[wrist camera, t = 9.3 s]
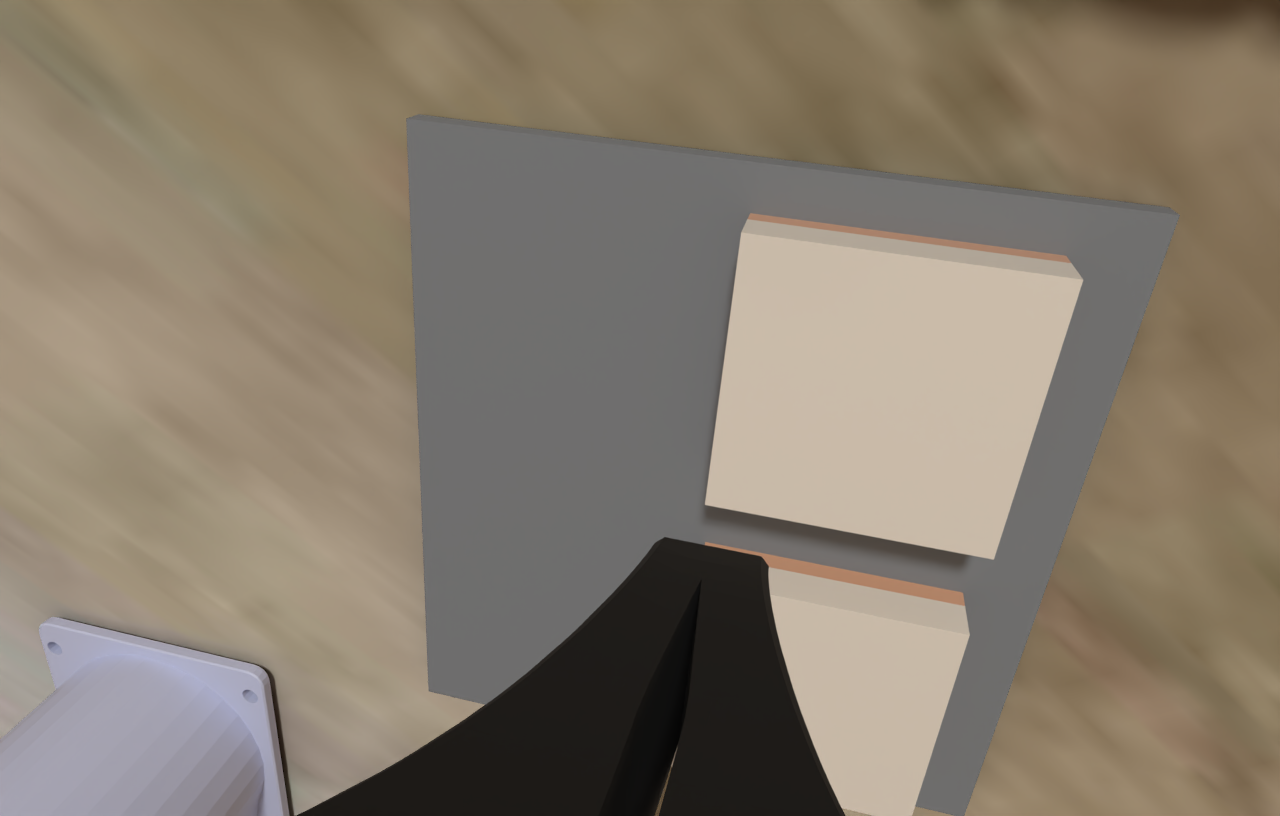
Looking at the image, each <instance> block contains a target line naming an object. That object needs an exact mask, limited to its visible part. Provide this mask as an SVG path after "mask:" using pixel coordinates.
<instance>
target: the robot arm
mask: <svg viewBox="0 0 1280 816" xmlns="http://www.w3.org/2000/svg"><path fill="white" fill-rule="evenodd" d="M768 573H769V566H768V564H767V563H766V562H765V560H764V559H763V558H762V556H757V555H752V554H747V553H742V552H737V551H732V550H727V549H722V548H718V547H713V546H708V545H703V544H698V543H693V542H688V541H683V540H678V539H673V538H668V537H664V538H662V539H660V540H659V541H657V542H655V543H654V545H653V546H652V547H651V549H650V550H649V552H648V553H647V554H646V555H645V557H644V558H643V559H642V560H641V562H640V563H639V564H638V565H637V566H636V568H635V569H634V570H633V571H632V572H631V573H630V575H629V576H628V577H627V578H626V579H625V580H624V581H623V582H622V583H621V584H620V586H619V587H618V588H617V589H616V590H615V591H614V592H613V593H612V594H611V595H610V596H609V597H608V598H607V599H606V600H605V601H604V602H603V603H602V604H601V605H600V606H599V607H598V608H597V609H596V610H595V611H594V612H593V613H592V614H591V615H590V616H589V617H588V618H587V619H586V620H585V621H584V622H583V623H582V624H581V625H580V626H579V627H578V628H577V629H576V630H575V631H574V632H573V633H572V634H571V635H570V636H569V637H568V638H566V639H565V640H564V641H563V642H562V643H561V644H560V645H558V646H557V647H556V648H555V649H554V650H553V651H552V652H550V653H549V654H548V655H547V656H546V657H545V658H543V659H542V660H541V661H540V662H539V663H538V664H537V665H535V666H534V667H533V668H532V669H531V670H530V671H528V672H527V673H526V674H525V675H524V676H522V677H521V678H520V679H519V680H517V681H516V682H515V683H513V684H512V685H511V686H510V687H508V688H507V689H506V690H505V691H503V692H502V693H501V694H499V695H498V696H497V697H495V698H494V699H493V700H491V701H490V702H488V703H487V704H486V705H484V706H483V707H481V708H480V709H479V710H477V711H476V712H475V713H473V714H472V715H470V716H469V717H468V718H466V719H465V720H463V721H462V722H460V723H459V724H457V725H456V726H454V727H453V728H451V729H449V730H448V731H446V732H445V733H443V734H442V735H440V736H439V737H437V738H435V739H434V740H432V741H431V742H429V743H428V744H426V745H425V746H423V747H421V748H420V749H418V750H417V751H415V752H414V753H412V754H410V755H409V756H407V757H405V758H404V759H402V760H400V761H399V762H397V763H395V764H393V765H392V766H390V767H388V768H386V769H385V770H383V771H381V772H380V773H378V774H376V775H374V776H372V777H370V778H368V779H366V780H364V781H362V782H360V783H359V784H357V785H355V786H353V787H351V788H349V789H347V790H345V791H343V792H341V793H339V794H338V795H336V796H334V797H332V798H330V799H328V800H326V801H324V802H322V803H320V804H318V805H317V806H315V807H313V808H311V809H309V810H307V811H305V812H303V813H301V814H299V815H297V816H654V815H655V812H656V809H657V806H658V803H659V800H660V797H661V794H662V791H663V788H664V785H665V782H666V779H667V776H668V773H669V770H670V767H671V764H672V761H673V758H674V755H675V758H674V762H673V766H672V770H671V773H670V777H669V781H668V785H667V788H666V792H665V796H664V799H663V803H662V806H661V810H660V814H659V816H845V814H844V812H843V810H842V808H841V806H840V804H839V801H838V799H837V797H836V795H835V793H834V791H833V789H832V787H831V785H830V782H829V780H828V778H827V776H826V773H825V771H824V769H823V766H822V764H821V762H820V759H819V757H818V754H817V752H816V750H815V747H814V745H813V742H812V739H811V737H810V734H809V731H808V729H807V726H806V724H805V721H804V718H803V716H802V713H801V710H800V707H799V704H798V701H797V698H796V695H795V693H794V690H793V687H792V683H791V680H790V676H789V673H788V670H787V666H786V663H785V659H784V656H783V653H782V649H781V645H780V641H779V637H778V633H777V629H776V624H775V619H774V614H773V610H772V604H771V597H770V589H769V575H768ZM39 634H40V637H41V641H42V644H43V648H44V651H45V654H46V658H47V661H48V665H49V668H50V671H51V675H52V678H53V682H54V685H55V688H56V690H55V691H54V692H53V693H52V694H51V695H50V696H48V697H47V698H46V699H45V700H44V701H43V702H42V703H41V704H39V705H38V706H37V707H36V708H35V709H34V710H33V711H32V712H30V713H29V714H28V715H27V716H26V717H25V718H24V719H23V720H21V721H20V722H19V723H18V724H17V725H16V726H15V727H14V728H12V729H11V730H10V731H9V732H8V733H7V734H6V735H4V736H3V737H2V738H1V739H0V816H289V809H288V802H287V796H286V789H285V782H284V775H283V768H282V762H281V755H280V748H279V741H278V734H277V728H276V721H275V714H274V707H273V700H272V694H271V687H270V680H269V677H268V674H267V673H266V672H265V670H263V669H262V668H261V667H259V666H257V665H254V664H250V663H246V662H242V661H238V660H234V659H229V658H225V657H221V656H217V655H213V654H209V653H204V652H200V651H196V650H192V649H188V648H183V647H179V646H175V645H171V644H167V643H163V642H158V641H154V640H150V639H146V638H142V637H138V636H133V635H129V634H125V633H121V632H117V631H112V630H108V629H104V628H100V627H96V626H92V625H87V624H83V623H79V622H75V621H71V620H66V619H62V618H58V617H51V618H48V619H47V620H46V621H45V622H43V623H42V624H41V625H40V627H39ZM677 746H678V747H677ZM676 749H677V751H676ZM675 752H676V754H675Z"/></svg>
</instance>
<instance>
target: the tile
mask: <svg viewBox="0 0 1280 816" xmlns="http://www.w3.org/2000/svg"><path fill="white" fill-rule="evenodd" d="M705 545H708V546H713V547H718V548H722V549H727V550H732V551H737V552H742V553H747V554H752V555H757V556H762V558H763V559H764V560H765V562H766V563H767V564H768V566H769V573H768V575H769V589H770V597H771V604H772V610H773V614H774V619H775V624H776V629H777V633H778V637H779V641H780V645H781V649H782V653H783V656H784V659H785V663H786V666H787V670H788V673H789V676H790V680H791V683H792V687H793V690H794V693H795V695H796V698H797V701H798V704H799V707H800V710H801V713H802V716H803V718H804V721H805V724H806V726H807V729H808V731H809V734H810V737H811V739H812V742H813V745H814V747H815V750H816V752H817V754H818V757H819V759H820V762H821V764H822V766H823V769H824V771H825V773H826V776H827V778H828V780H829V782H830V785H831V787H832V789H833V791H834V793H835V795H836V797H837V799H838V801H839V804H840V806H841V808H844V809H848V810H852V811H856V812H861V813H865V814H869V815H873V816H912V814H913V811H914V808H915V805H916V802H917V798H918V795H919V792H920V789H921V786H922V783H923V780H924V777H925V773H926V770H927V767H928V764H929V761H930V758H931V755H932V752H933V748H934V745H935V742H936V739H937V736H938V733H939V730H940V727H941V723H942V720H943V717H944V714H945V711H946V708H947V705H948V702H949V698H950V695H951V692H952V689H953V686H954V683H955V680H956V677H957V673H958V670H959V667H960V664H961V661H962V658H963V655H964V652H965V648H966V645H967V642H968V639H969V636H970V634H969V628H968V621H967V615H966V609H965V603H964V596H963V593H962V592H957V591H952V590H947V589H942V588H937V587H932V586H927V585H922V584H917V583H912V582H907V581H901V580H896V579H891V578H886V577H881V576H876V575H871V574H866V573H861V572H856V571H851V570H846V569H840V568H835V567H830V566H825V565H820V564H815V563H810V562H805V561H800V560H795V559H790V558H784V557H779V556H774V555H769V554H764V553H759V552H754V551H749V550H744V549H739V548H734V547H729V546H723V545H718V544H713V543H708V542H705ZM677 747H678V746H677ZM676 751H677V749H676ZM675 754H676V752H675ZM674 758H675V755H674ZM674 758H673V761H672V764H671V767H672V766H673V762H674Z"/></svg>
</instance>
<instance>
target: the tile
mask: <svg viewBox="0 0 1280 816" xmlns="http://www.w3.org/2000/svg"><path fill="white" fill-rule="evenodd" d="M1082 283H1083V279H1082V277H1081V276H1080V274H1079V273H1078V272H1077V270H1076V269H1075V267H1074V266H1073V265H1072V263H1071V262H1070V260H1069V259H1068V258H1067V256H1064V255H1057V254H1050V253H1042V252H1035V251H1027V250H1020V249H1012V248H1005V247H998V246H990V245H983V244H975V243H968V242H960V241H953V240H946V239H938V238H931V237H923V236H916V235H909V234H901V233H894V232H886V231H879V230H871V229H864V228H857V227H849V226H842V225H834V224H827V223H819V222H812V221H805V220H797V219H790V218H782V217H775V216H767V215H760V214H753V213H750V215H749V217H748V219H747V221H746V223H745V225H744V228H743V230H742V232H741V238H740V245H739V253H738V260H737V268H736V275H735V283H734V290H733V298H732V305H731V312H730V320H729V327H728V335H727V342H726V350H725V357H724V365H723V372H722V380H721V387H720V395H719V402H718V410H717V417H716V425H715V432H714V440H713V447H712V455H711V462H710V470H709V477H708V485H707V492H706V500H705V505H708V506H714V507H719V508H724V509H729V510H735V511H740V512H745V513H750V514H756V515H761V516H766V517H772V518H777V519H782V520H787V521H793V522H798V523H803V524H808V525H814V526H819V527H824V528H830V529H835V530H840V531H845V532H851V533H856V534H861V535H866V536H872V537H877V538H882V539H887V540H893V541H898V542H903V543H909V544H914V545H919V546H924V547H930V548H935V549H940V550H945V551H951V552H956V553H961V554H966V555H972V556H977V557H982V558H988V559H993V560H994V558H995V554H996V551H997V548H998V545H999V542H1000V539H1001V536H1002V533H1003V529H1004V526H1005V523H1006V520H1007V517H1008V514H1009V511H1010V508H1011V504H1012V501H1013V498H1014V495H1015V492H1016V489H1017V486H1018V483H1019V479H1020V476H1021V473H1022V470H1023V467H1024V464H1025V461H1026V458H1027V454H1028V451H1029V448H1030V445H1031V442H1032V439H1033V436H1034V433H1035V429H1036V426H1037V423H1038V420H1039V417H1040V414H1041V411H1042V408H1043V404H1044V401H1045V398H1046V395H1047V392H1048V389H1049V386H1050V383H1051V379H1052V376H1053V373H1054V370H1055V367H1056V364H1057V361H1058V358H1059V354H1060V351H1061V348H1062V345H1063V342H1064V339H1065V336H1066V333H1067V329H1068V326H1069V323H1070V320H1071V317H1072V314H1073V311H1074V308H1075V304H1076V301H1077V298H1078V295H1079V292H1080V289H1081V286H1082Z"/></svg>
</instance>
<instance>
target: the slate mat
mask: <svg viewBox="0 0 1280 816" xmlns="http://www.w3.org/2000/svg"><path fill="white" fill-rule="evenodd" d="M406 121H407V147H408V173H409V198H410V224H411V250H412V275H413V301H414V327H415V352H416V378H417V403H418V429H419V455H420V480H421V506H422V532H423V557H424V583H425V609H426V634H427V660H428V686H429V691H430V692H434V693H439V694H443V695H447V696H451V697H456V698H460V699H464V700H468V701H473V702H477V703H481V704H485V705H486V704H487V703H488V702H490V701H491V700H493V699H494V698H495V697H497V696H498V695H499V694H501V693H502V692H503V691H505V690H506V689H507V688H508V687H510V686H511V685H512V684H513V683H515V682H516V681H517V680H519V679H520V678H521V677H522V676H524V675H525V674H526V673H527V672H528V671H530V670H531V669H532V668H533V667H534V666H535V665H537V664H538V663H539V662H540V661H541V660H542V659H543V658H545V657H546V656H547V655H548V654H549V653H550V652H552V651H553V650H554V649H555V648H556V647H557V646H558V645H560V644H561V643H562V642H563V641H564V640H565V639H566V638H568V637H569V636H570V635H571V634H572V633H573V632H574V631H575V630H576V629H577V628H578V627H579V626H580V625H581V624H582V623H583V622H584V621H585V620H586V619H587V618H588V617H589V616H590V615H591V614H592V613H593V612H594V611H595V610H596V609H597V608H598V607H599V606H600V605H601V604H602V603H603V602H604V601H605V600H606V599H607V598H608V597H609V596H610V595H611V594H612V593H613V592H614V591H615V590H616V589H617V588H618V587H619V586H620V584H621V583H622V582H623V581H624V580H625V579H626V578H627V577H628V576H629V575H630V573H631V572H632V571H633V570H634V569H635V568H636V566H637V565H638V564H639V563H640V562H641V560H642V559H643V558H644V557H645V555H646V554H647V553H648V552H649V550H650V549H651V547H652V546H653V545H654V543H655V542H657V541H659V540H660V539H662V538H664V537H668V538H673V539H678V540H683V541H688V542H693V543H698V544H703V545H705V542H708V543H713V544H718V545H723V546H729V547H734V548H739V549H744V550H749V551H754V552H759V553H764V554H769V555H774V556H779V557H784V558H790V559H795V560H800V561H805V562H810V563H815V564H820V565H825V566H830V567H835V568H840V569H846V570H851V571H856V572H861V573H866V574H871V575H876V576H881V577H886V578H891V579H896V580H901V581H907V582H912V583H917V584H922V585H927V586H932V587H937V588H942V589H947V590H952V591H957V592H962V593H963V596H964V603H965V609H966V615H967V621H968V628H969V634H970V636H969V639H968V642H967V645H966V648H965V652H964V655H963V658H962V661H961V664H960V667H959V670H958V673H957V677H956V680H955V683H954V686H953V689H952V692H951V695H950V698H949V702H948V705H947V708H946V711H945V714H944V717H943V720H942V723H941V727H940V730H939V733H938V736H937V739H936V742H935V745H934V748H933V752H932V755H931V758H930V761H929V764H928V767H927V770H926V773H925V777H924V780H923V783H922V786H921V789H920V792H919V795H918V798H917V802H916V805H915V806H917V807H921V808H925V809H929V810H934V811H938V812H942V813H946V814H951V815H955V816H964V815H965V812H966V809H967V806H968V803H969V801H970V798H971V795H972V792H973V789H974V787H975V784H976V781H977V778H978V776H979V773H980V770H981V767H982V764H983V762H984V759H985V756H986V753H987V750H988V748H989V745H990V742H991V739H992V737H993V734H994V731H995V728H996V725H997V723H998V720H999V717H1000V714H1001V711H1002V709H1003V706H1004V703H1005V700H1006V698H1007V695H1008V692H1009V689H1010V686H1011V684H1012V681H1013V678H1014V675H1015V673H1016V670H1017V667H1018V664H1019V661H1020V659H1021V656H1022V653H1023V650H1024V647H1025V645H1026V642H1027V639H1028V636H1029V634H1030V631H1031V628H1032V625H1033V622H1034V620H1035V617H1036V614H1037V611H1038V608H1039V606H1040V603H1041V600H1042V597H1043V595H1044V592H1045V589H1046V586H1047V583H1048V581H1049V578H1050V575H1051V572H1052V569H1053V567H1054V564H1055V561H1056V558H1057V556H1058V553H1059V550H1060V547H1061V544H1062V542H1063V539H1064V536H1065V533H1066V531H1067V528H1068V525H1069V522H1070V519H1071V517H1072V514H1073V511H1074V508H1075V505H1076V503H1077V500H1078V497H1079V494H1080V492H1081V489H1082V486H1083V483H1084V480H1085V478H1086V475H1087V472H1088V469H1089V466H1090V464H1091V461H1092V458H1093V455H1094V453H1095V450H1096V447H1097V444H1098V441H1099V439H1100V436H1101V433H1102V430H1103V427H1104V425H1105V422H1106V419H1107V416H1108V414H1109V411H1110V408H1111V405H1112V402H1113V400H1114V397H1115V394H1116V391H1117V389H1118V386H1119V383H1120V380H1121V377H1122V375H1123V372H1124V369H1125V366H1126V363H1127V361H1128V358H1129V355H1130V352H1131V350H1132V347H1133V344H1134V341H1135V338H1136V336H1137V333H1138V330H1139V327H1140V324H1141V322H1142V319H1143V316H1144V313H1145V311H1146V308H1147V305H1148V302H1149V299H1150V297H1151V294H1152V291H1153V288H1154V285H1155V283H1156V280H1157V277H1158V274H1159V272H1160V269H1161V266H1162V263H1163V260H1164V258H1165V255H1166V252H1167V249H1168V247H1169V244H1170V241H1171V238H1172V235H1173V233H1174V230H1175V227H1176V224H1177V221H1178V219H1179V216H1180V215H1179V214H1177V213H1176V212H1175V211H1173V210H1172V209H1171V208H1169V207H1161V206H1153V205H1145V204H1137V203H1129V202H1121V201H1113V200H1104V199H1096V198H1088V197H1080V196H1072V195H1064V194H1056V193H1048V192H1040V191H1032V190H1024V189H1016V188H1008V187H1000V186H992V185H984V184H976V183H967V182H959V181H951V180H943V179H935V178H927V177H919V176H911V175H903V174H895V173H887V172H879V171H871V170H863V169H855V168H847V167H839V166H830V165H822V164H814V163H806V162H798V161H790V160H782V159H774V158H766V157H758V156H750V155H742V154H734V153H726V152H718V151H710V150H702V149H694V148H685V147H677V146H669V145H661V144H653V143H645V142H637V141H629V140H621V139H613V138H605V137H597V136H589V135H581V134H573V133H565V132H557V131H548V130H540V129H532V128H524V127H516V126H508V125H500V124H492V123H484V122H476V121H468V120H460V119H452V118H444V117H436V116H428V115H420V114H419V115H416V116H413V117H409V118H406ZM750 213H753V214H760V215H767V216H775V217H782V218H790V219H797V220H805V221H812V222H819V223H827V224H834V225H842V226H849V227H857V228H864V229H871V230H879V231H886V232H894V233H901V234H909V235H916V236H923V237H931V238H938V239H946V240H953V241H960V242H968V243H975V244H983V245H990V246H998V247H1005V248H1012V249H1020V250H1027V251H1035V252H1042V253H1050V254H1057V255H1064V256H1067V258H1068V259H1069V260H1070V262H1071V263H1072V265H1073V266H1074V267H1075V269H1076V270H1077V272H1078V273H1079V274H1080V276H1081V277H1082V279H1083V283H1082V286H1081V289H1080V292H1079V295H1078V298H1077V301H1076V304H1075V308H1074V311H1073V314H1072V317H1071V320H1070V323H1069V326H1068V329H1067V333H1066V336H1065V339H1064V342H1063V345H1062V348H1061V351H1060V354H1059V358H1058V361H1057V364H1056V367H1055V370H1054V373H1053V376H1052V379H1051V383H1050V386H1049V389H1048V392H1047V395H1046V398H1045V401H1044V404H1043V408H1042V411H1041V414H1040V417H1039V420H1038V423H1037V426H1036V429H1035V433H1034V436H1033V439H1032V442H1031V445H1030V448H1029V451H1028V454H1027V458H1026V461H1025V464H1024V467H1023V470H1022V473H1021V476H1020V479H1019V483H1018V486H1017V489H1016V492H1015V495H1014V498H1013V501H1012V504H1011V508H1010V511H1009V514H1008V517H1007V520H1006V523H1005V526H1004V529H1003V533H1002V536H1001V539H1000V542H999V545H998V548H997V551H996V554H995V558H994V560H993V559H988V558H982V557H977V556H972V555H966V554H961V553H956V552H951V551H945V550H940V549H935V548H930V547H924V546H919V545H914V544H909V543H903V542H898V541H893V540H887V539H882V538H877V537H872V536H866V535H861V534H856V533H851V532H845V531H840V530H835V529H830V528H824V527H819V526H814V525H808V524H803V523H798V522H793V521H787V520H782V519H777V518H772V517H766V516H761V515H756V514H750V513H745V512H740V511H735V510H729V509H724V508H719V507H714V506H708V505H705V500H706V492H707V485H708V477H709V470H710V462H711V455H712V447H713V440H714V432H715V425H716V417H717V410H718V402H719V395H720V387H721V380H722V372H723V365H724V357H725V350H726V342H727V335H728V327H729V320H730V312H731V305H732V298H733V290H734V283H735V275H736V268H737V260H738V253H739V245H740V238H741V232H742V230H743V228H744V225H745V223H746V221H747V219H748V217H749V215H750Z"/></svg>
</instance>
